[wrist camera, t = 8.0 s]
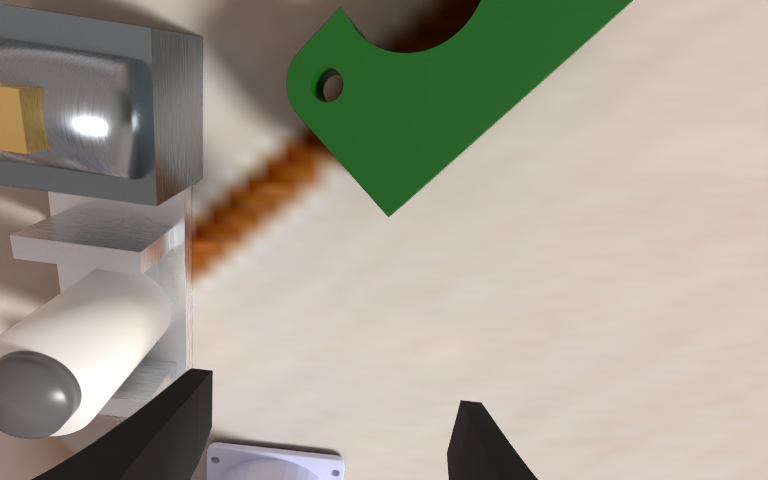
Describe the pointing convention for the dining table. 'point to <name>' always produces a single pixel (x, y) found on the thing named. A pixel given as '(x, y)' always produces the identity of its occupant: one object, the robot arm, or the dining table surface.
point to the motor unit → (107, 161)
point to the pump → (77, 352)
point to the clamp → (432, 87)
